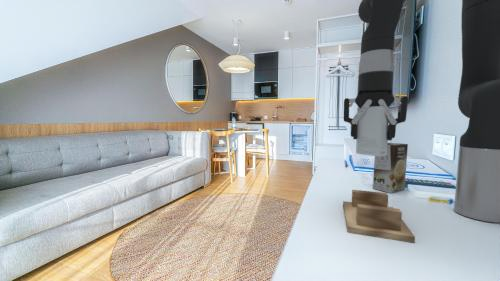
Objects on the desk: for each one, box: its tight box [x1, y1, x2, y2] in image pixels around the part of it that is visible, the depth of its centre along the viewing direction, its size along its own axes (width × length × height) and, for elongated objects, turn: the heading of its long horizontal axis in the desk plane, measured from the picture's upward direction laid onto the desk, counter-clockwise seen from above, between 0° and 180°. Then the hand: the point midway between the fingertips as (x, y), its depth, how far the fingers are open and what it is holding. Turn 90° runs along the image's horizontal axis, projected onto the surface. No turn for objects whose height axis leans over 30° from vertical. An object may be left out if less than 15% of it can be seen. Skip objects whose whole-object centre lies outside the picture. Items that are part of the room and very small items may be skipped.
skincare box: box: [355, 106, 390, 157], centre depth 55 cm, size 6×4×12 cm
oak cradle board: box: [342, 189, 416, 244], centre depth 52 cm, size 12×16×5 cm
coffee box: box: [372, 142, 409, 194], centre depth 76 cm, size 9×6×16 cm
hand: (371, 139), depth 56 cm, fingers closed on skincare box, 7 cm apart
